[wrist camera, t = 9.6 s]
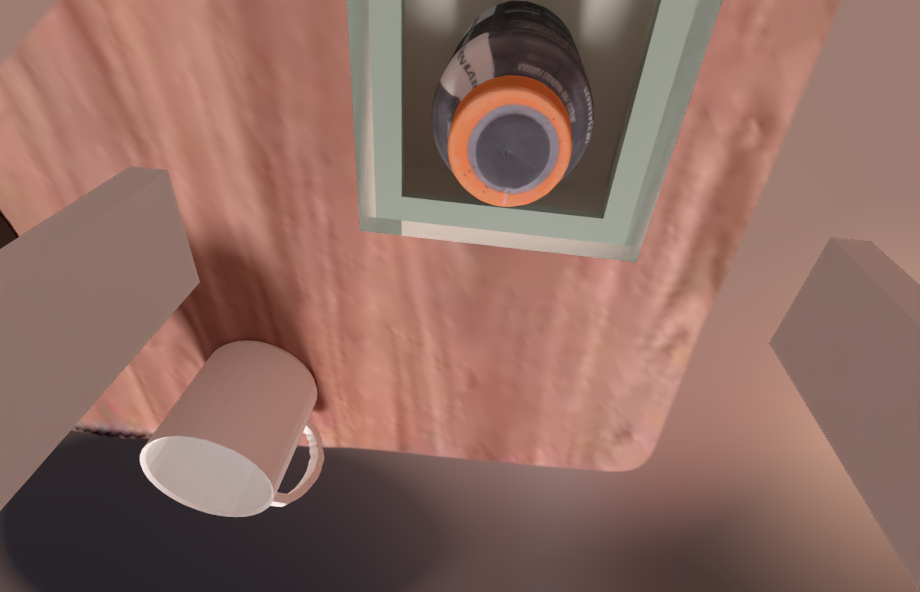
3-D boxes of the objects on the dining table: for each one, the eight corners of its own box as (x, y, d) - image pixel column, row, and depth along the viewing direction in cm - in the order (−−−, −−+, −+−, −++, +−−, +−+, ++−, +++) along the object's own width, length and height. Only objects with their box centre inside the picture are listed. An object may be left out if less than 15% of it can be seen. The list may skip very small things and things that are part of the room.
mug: (186, 358, 41) (111, 455, 34) (267, 323, 38) (204, 421, 30) (283, 446, 47) (237, 545, 39) (361, 421, 44) (327, 525, 36)
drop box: (391, 172, 30) (359, 230, 24) (387, -113, 22) (339, -125, 16) (615, 196, 29) (636, 262, 23) (693, -88, 21) (752, -91, 16)
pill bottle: (436, 30, 24) (383, 94, 15) (557, -24, 23) (576, 12, 14) (481, 145, 28) (458, 254, 18) (590, 104, 26) (625, 204, 17)
